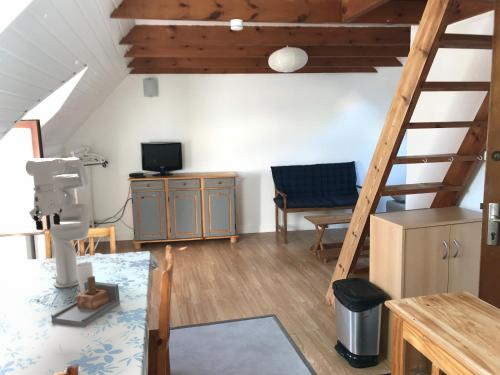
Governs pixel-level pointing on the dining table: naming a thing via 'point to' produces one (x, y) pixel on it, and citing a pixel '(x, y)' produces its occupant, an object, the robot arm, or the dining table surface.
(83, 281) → the drinking glass
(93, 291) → the dowel
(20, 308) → the dining table surface
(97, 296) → the block
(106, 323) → the dining table surface
